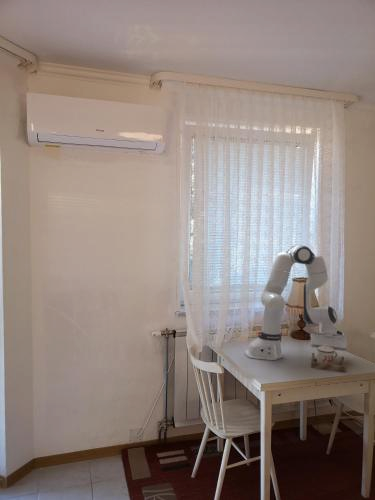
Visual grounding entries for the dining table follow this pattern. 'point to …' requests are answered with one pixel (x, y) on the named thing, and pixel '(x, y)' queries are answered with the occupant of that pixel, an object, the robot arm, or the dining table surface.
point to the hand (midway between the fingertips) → (328, 355)
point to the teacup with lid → (326, 354)
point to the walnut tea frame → (328, 365)
